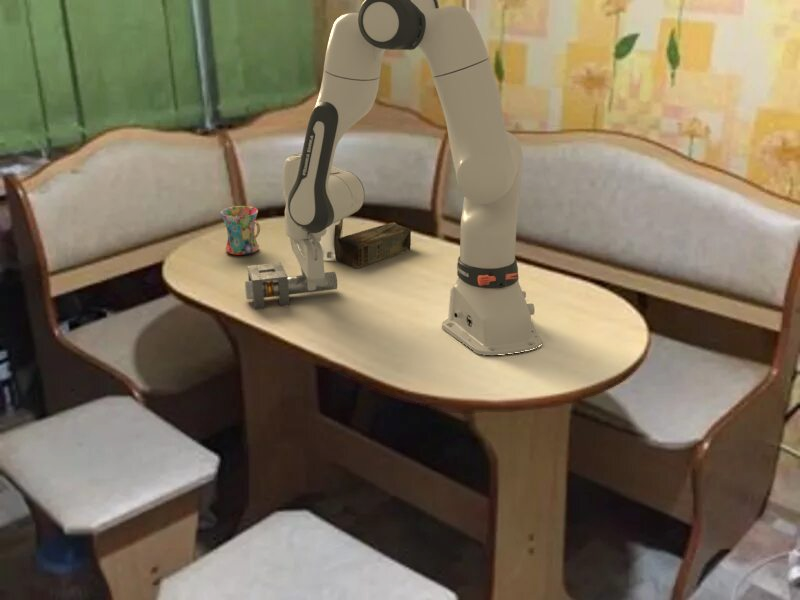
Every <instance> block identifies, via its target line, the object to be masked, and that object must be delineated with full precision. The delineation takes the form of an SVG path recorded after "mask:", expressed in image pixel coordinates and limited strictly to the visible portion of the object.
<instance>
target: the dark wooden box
mask: <svg viewBox="0 0 800 600" xmlns="http://www.w3.org/2000/svg"><path fill="white" fill-rule="evenodd" d="M411 235H412V230H411V229H410V228H408V227H405V226H401V225H399V224H397V223H396V222H388V223H385V224H383V225H378V226H375V227H371V228H369V229H364V230H361V231H358V232H355V233H354V232H353V233H352V234H347V235H345V236H342V237H341V238H338V239H337V260H338V261H337V262H340V263H341V264H345V265H347V266H348V267H352V268H354V269H355V270H357V269H360V268H363V267H366V266H368V265H372V264H374V263H377V262H380V261H383V260H387V259H388V258H392V257H395V256H397V255H400V254H403V253H406V252H408V251H411V246H412V244H411V243H412V239H411V238H412V236H411ZM407 250H408V251H407ZM402 252H403V253H402Z"/></svg>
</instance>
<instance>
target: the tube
mask: <svg viewBox="0 0 800 600" xmlns="http://www.w3.org/2000/svg"><path fill="white" fill-rule="evenodd" d="M306 281H307V277H306V275H302V274H300V275H293V276H292V275H291V276H288V288H289V296H291V295H298V294H307V293H315V292H316V293H317V292H324V291H334V290H338V277H337V273H336V271H328V272H325V275H324V279H322V280H316V289H315V290H311V291H309V290H308V289H307V284H306ZM262 283H263V296H264V299H265V298H266V299H267V298H274V297H279V292H278V280H276V281H267V282H262ZM244 289H245V290H244V291H245V292H244V293H245V297H246V300H254V298H253V285H252V281H249V280H248V281H247V280H246V281H244Z"/></svg>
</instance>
